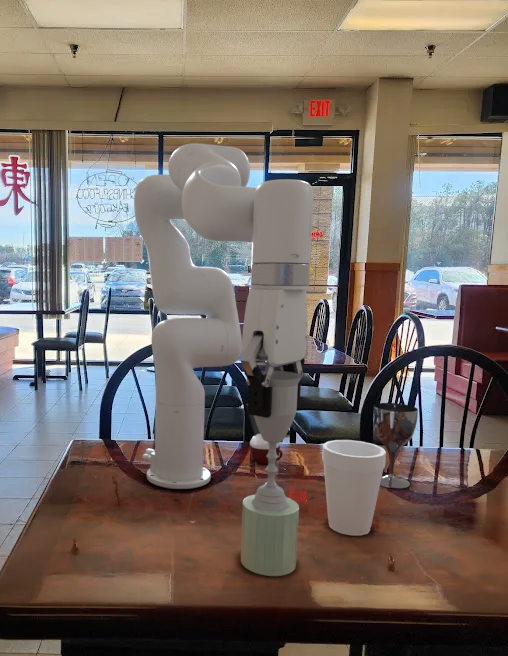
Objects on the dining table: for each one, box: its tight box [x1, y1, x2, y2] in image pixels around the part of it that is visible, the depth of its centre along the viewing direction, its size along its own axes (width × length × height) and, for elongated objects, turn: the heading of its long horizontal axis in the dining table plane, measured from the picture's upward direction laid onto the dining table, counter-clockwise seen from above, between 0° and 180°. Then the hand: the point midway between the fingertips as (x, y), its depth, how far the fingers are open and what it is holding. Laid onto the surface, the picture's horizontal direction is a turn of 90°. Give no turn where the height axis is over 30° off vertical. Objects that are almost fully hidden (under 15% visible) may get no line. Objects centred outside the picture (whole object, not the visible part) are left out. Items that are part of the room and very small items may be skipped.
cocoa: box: [245, 403, 283, 465], centre depth 123 cm, size 10×6×12 cm, turn 16°
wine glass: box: [372, 402, 419, 489], centre depth 112 cm, size 8×8×15 cm
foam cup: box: [321, 439, 387, 536], centre depth 91 cm, size 10×9×13 cm
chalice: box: [252, 370, 303, 511], centre depth 78 cm, size 7×7×18 cm
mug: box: [240, 494, 300, 577], centre depth 81 cm, size 10×8×8 cm
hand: (274, 409), depth 77 cm, fingers closed on chalice, 7 cm apart
